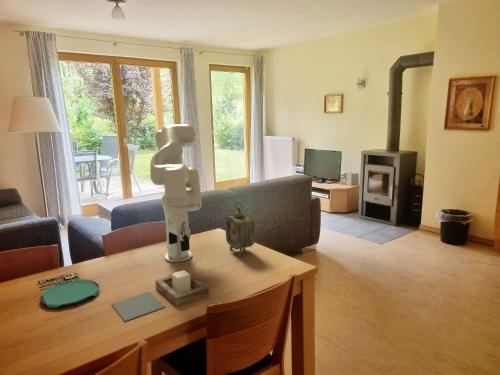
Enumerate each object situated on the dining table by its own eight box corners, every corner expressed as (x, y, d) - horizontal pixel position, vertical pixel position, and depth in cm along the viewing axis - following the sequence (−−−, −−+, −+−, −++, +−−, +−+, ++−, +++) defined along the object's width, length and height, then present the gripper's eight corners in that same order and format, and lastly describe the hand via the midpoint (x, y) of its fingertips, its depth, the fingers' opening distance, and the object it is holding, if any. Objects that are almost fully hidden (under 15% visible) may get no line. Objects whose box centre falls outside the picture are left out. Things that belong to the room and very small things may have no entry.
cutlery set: (46, 317, 121) (45, 310, 120) (32, 285, 144) (31, 280, 143) (106, 297, 133) (105, 292, 133) (84, 271, 156) (84, 266, 156)
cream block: (172, 290, 136) (171, 273, 135) (184, 286, 139) (183, 270, 138) (178, 295, 133) (177, 278, 131) (190, 291, 136) (189, 274, 134)
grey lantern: (226, 249, 177) (224, 200, 172) (242, 245, 181) (241, 197, 176) (238, 259, 165) (237, 206, 160) (256, 255, 169) (255, 204, 164)
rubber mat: (111, 304, 127) (111, 303, 127) (149, 292, 135) (149, 291, 135) (124, 321, 116) (124, 320, 116) (165, 307, 125) (165, 306, 124)
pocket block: (156, 287, 139) (155, 280, 139) (186, 277, 147) (185, 271, 146) (176, 306, 125) (176, 298, 124) (208, 294, 133) (208, 287, 132)
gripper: (156, 199, 133) (159, 243, 137) (177, 207, 120) (180, 256, 123) (175, 196, 138) (177, 238, 141) (197, 204, 124) (199, 251, 128)
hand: (179, 246), depth 132 cm, fingers open, 9 cm apart
